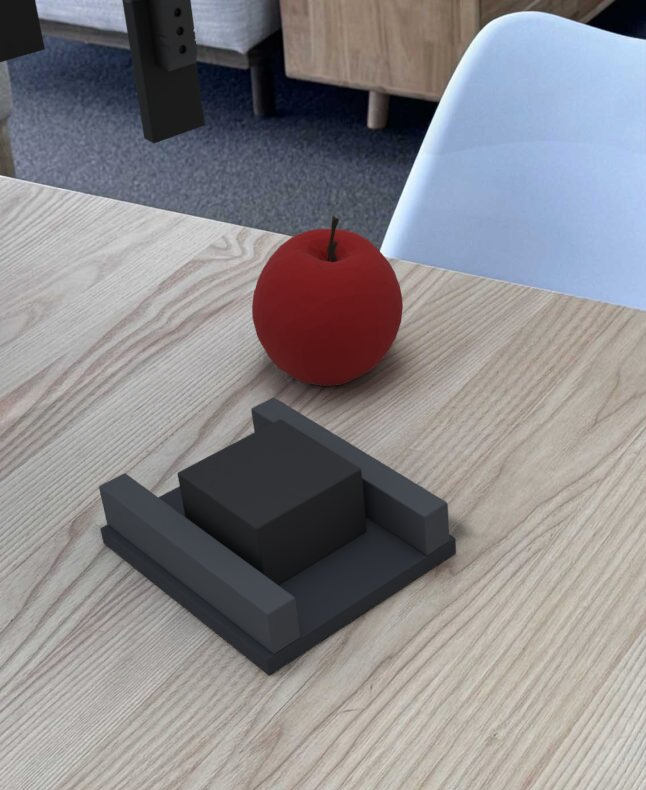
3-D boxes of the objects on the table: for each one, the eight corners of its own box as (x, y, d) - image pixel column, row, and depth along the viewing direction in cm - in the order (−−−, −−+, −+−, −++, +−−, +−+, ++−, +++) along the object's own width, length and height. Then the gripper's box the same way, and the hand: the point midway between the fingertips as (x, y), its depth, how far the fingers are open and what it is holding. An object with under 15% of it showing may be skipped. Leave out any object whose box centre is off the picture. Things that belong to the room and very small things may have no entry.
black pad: (187, 535, 72) (176, 472, 69) (288, 479, 75) (280, 418, 73) (266, 593, 68) (256, 528, 66) (367, 531, 72) (361, 468, 69)
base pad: (103, 542, 73) (90, 489, 71) (285, 444, 80) (279, 393, 78) (269, 675, 64) (260, 619, 63) (456, 553, 72) (453, 498, 70)
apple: (272, 328, 91) (254, 187, 85) (411, 327, 91) (402, 185, 85) (249, 408, 83) (228, 258, 77) (401, 406, 83) (391, 256, 77)
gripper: (275, -413, 49) (321, 143, 61) (-67, -448, 64) (25, 9, 76) (90, -398, 45) (179, 199, 57) (-233, -439, 59) (-108, 45, 71)
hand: (91, 92), depth 66 cm, fingers open, 13 cm apart
